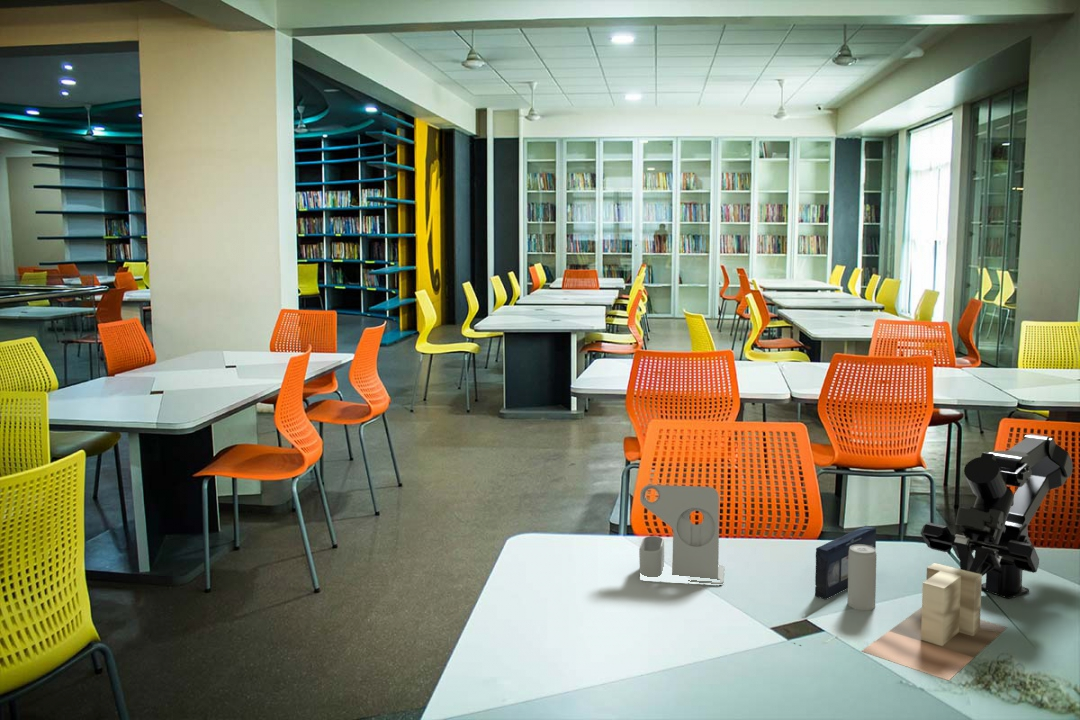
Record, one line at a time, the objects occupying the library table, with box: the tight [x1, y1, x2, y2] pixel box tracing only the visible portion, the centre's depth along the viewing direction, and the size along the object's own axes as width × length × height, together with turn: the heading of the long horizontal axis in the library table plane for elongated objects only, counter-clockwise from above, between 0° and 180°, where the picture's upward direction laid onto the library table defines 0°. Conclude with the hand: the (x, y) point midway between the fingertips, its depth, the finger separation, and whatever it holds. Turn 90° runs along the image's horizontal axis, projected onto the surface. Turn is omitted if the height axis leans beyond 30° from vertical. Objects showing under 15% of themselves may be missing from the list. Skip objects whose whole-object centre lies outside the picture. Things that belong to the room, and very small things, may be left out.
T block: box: [921, 562, 983, 646], centre depth 148 cm, size 10×8×10 cm
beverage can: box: [847, 544, 877, 611], centre depth 161 cm, size 5×5×12 cm
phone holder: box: [638, 484, 726, 585], centre depth 180 cm, size 17×10×18 cm, turn 76°
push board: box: [861, 606, 1008, 681], centre depth 147 cm, size 25×14×1 cm, turn 134°
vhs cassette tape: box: [814, 525, 877, 600], centre depth 173 cm, size 18×3×10 cm, turn 129°
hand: (964, 588), depth 154 cm, fingers closed
